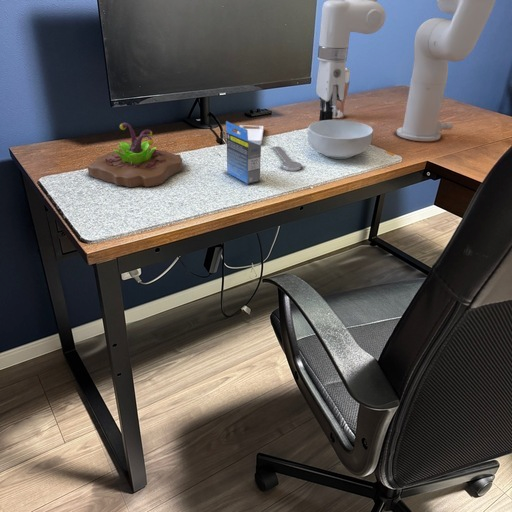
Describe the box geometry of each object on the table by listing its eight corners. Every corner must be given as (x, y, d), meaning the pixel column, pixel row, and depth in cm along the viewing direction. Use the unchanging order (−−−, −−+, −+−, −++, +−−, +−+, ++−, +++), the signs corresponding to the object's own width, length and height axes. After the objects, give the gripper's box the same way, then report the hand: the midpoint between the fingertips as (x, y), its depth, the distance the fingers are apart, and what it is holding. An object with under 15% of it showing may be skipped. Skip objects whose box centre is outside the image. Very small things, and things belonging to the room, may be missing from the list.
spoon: (284, 148, 132) (284, 145, 132) (303, 170, 118) (303, 167, 117) (268, 148, 132) (268, 146, 131) (285, 171, 117) (285, 168, 117)
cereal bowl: (306, 143, 137) (308, 117, 133) (366, 146, 136) (369, 120, 132) (305, 163, 122) (308, 135, 119) (372, 166, 121) (377, 139, 118)
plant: (127, 152, 126) (122, 108, 121) (194, 163, 120) (192, 118, 114) (75, 178, 110) (66, 128, 105) (148, 192, 104) (143, 141, 98)
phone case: (261, 145, 134) (263, 130, 147) (261, 140, 133) (263, 125, 146) (234, 144, 134) (239, 129, 147) (234, 139, 134) (239, 124, 147)
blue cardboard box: (261, 181, 111) (262, 127, 105) (247, 184, 109) (247, 130, 103) (239, 169, 117) (239, 118, 111) (225, 172, 115) (225, 120, 109)
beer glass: (348, 115, 164) (354, 68, 157) (340, 120, 159) (345, 71, 151) (329, 112, 167) (334, 66, 160) (321, 116, 162) (325, 69, 155)
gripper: (357, 58, 120) (347, 132, 129) (336, 50, 133) (329, 118, 142) (328, 58, 119) (320, 133, 128) (310, 50, 131) (304, 118, 141)
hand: (325, 125), depth 135 cm, fingers closed
